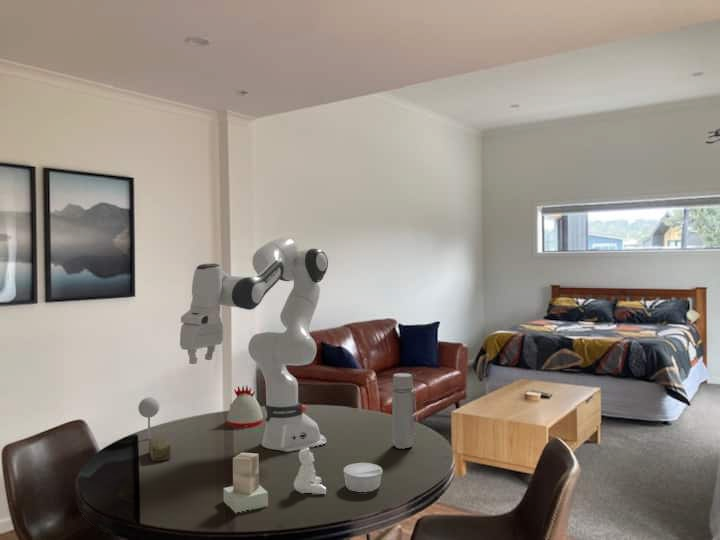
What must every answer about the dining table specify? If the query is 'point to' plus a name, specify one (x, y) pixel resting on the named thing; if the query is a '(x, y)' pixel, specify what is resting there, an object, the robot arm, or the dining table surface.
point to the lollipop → (148, 409)
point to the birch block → (245, 473)
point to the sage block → (245, 499)
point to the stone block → (159, 449)
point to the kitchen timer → (244, 410)
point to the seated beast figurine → (308, 475)
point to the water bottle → (403, 409)
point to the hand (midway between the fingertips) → (200, 361)
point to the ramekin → (362, 476)
